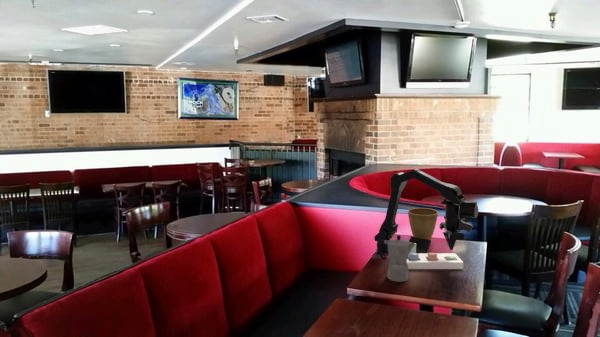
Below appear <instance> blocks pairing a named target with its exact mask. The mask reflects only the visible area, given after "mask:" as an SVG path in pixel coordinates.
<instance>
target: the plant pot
mask: <svg viewBox="0 0 600 337" xmlns="http://www.w3.org/2000/svg"><path fill="white" fill-rule="evenodd" d="M407 215H408V221H409V225H410V226H409V227H410V232H411V234H412V237H417V238H422V239H427V240H431V239H432V237H433V235H434V232H435V228H436V225H437V221H438V215H439V212H438V210H436V209H433V208H429V207H428V208H427V207H414V208H410V209H408V210H407ZM431 241H432V240H431Z"/></svg>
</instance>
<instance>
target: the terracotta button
mask: <svg viewBox="0 0 600 337" xmlns="http://www.w3.org/2000/svg"><path fill="white" fill-rule="evenodd" d="M428 260H437V254H436V252H428Z"/></svg>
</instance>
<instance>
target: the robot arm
mask: <svg viewBox="0 0 600 337" xmlns="http://www.w3.org/2000/svg"><path fill="white" fill-rule="evenodd" d="M413 179H415V180H416V181H418V182H420V183H422V184H424V185H426V186H428V187H430V188H432V189H433V190H435V191H437V192H438V193H439V194H440V196H442V197H443V198H444V199H443V200H442V201H441V202H440V205H443V206H444V205H445V207H444V208H445V212H444V213H445V215H444V216H443V219H444V220H445V222H443V221H442V222H440V224H439V229H440V230H441V231H442V230H443V229H444V231H443V232H442V234H443V236H444V240H445V242H446V243H447V247H448V248H449V251H453V250H454V248H455V245H456V242H457V240H458V241H464V240H466V234H465V233H463V232H462V231H466V232H467V233H471V232H472V229H473V228H474V226H473V224H472V223H470V222H468V220H467V219H466V218H473V219H477V218H478V216H479V215H478V214H479V207H478V206H479V205H478V202H477V201H469V200H467V199H466V198H465V196H464V195H463V193H462V190H461V188H460V186H458V185H455V184H451V183H446V182H444V181H441V180H439V179H437V178H436V177H434V176H432V175H430V174H428V173H426V172H424V171H422V170H421V169H419V168H414V169H411V170H410V171H407V172H403V171H400V172H397V173H394V174H392V175H391V177H390V184H389V186H390V195H389V200H388V204H387V205H388V206H387V209H386V212H385V213H386V214H385V218H384V220H383V222H382V224H381V225H380V227H379V230H378V233H377V234H375V235H374V237H373V239H374V241H375V242H376V244H377V243H378V242H379V241H380V240H392V238H393V237H394V236H395V235H396V233H398V227H399V224H398V223H396V217H397V215H398V214H397V213H398V209H399V204H400V199H401V195H402V192H403V191H404V188H406V185H407V183H408V181H409V180H413ZM460 216H461V217H463V218H460ZM464 217H465V218H464ZM381 247H382V252H383V255H389V253H388V246H387V245H383V244H382V245H381ZM375 252H376V254H377V253H378V254H379V251H378V248H377V247H376V249H375ZM378 254H377V255H378ZM379 255H380V254H379Z"/></svg>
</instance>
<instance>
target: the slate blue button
mask: <svg viewBox="0 0 600 337" xmlns="http://www.w3.org/2000/svg"><path fill="white" fill-rule="evenodd" d="M412 260H419V254H418V253H410V254H409V261H412Z"/></svg>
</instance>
